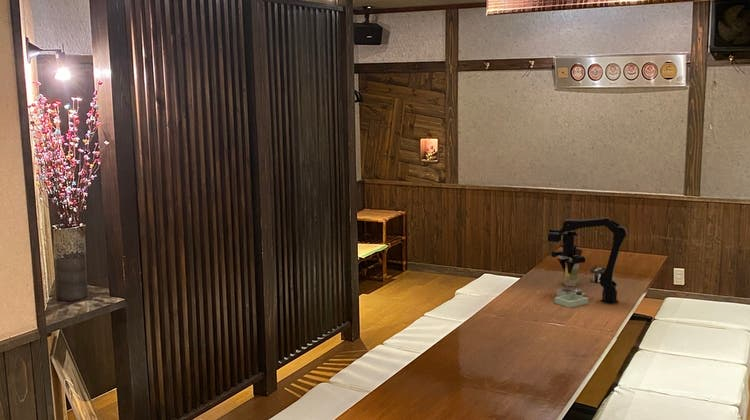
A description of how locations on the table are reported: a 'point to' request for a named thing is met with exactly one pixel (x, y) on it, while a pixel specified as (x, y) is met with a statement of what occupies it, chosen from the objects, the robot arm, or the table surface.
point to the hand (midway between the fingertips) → (567, 272)
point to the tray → (571, 300)
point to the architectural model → (597, 273)
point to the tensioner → (570, 292)
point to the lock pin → (566, 273)
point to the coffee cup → (572, 275)
